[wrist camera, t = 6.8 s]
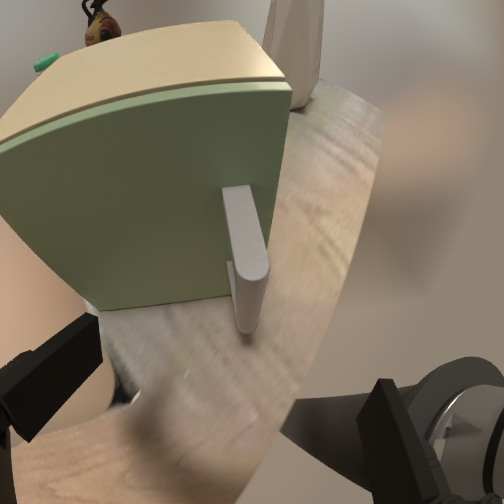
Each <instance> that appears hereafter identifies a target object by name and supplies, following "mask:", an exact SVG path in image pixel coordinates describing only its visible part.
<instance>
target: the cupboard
mask: <svg viewBox="0 0 504 504" xmlns="http://www.w3.org/2000/svg"><path fill="white" fill-rule="evenodd" d="M244 82H285V76H284V74H283V73H282V72H281V71H280V69H279V68H278V67H277V66H276V64H275V63H274V62H273V61H272V60H271V58H270V57H269V56H268V55H267V54H266V52H265V51H264V50H263V49H262V48H261V47H260V46H259V45H258V43H257V42H256V41H255V40H254V39H253V38H252V37H251V35H250V34H249V33H248V32H247V31H246V30H245V29H244V28H243V27H242V26H241V25H240V24H239V23H238V22H237V21H236V20H235V21H234V20H232V21H212V22H202V23H201V22H200V23H191V24H183V25H175V26H169V27H163V28H157V29H152V30H147V31H142V32H138V33H134V34H130V35H126V36H122V37H118V38H114V39H111V40H107V41H104V42H101V43H98V44H95V45H92V46H89V47H86V48H83V49H80V50H77V51H75V52H72V53H70V54H67V55H65V56H63V57H60V58H58V59H57V60H56V61H55V62H54V63H53V64H52V65H51V66H50V67H48V68H47V69H46V70H45V71H44V72H43V73H42V74H41V75H40V76H39V77H38V78H37V79H36V80H35V81H34V82H33V83H32V84H31V85H30V86H29V87H28V88H27V89H26V90H25V91H24V92H23V94H22V95H21V96H20V97H19V98H18V99H17V100H16V101H15V103H14V104H13V105H12V106H11V107H10V108H9V110H8V111H7V112H6V113H5V114H4V116H3V117H2V118H1V119H0V145H2V144H4V143H6V142H8V141H10V140H12V139H14V138H16V137H18V136H20V135H22V134H25V133H27V132H29V131H31V130H34V129H36V128H38V127H41V126H43V125H46V124H48V123H51V122H53V121H56V120H58V119H61V118H64V117H67V116H70V115H72V114H75V113H78V112H81V111H84V110H88V109H91V108H94V107H98V106H101V105H105V104H108V103H112V102H116V101H120V100H124V99H128V98H132V97H137V96H141V95H146V94H151V93H157V92H162V91H168V90H174V89H181V88H188V87H196V86H205V85H215V84H227V83H244Z"/></svg>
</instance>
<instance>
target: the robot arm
mask: <svg viewBox="0 0 504 504" xmlns="http://www.w3.org/2000/svg"><path fill="white" fill-rule="evenodd" d="M102 362H103V357H102V351H101V342H100V333H99V323H98V317H97V316H94V315H92V314H89V313H87V312H86V313H84V314H83V315H82V316H80V317H79V318H77V319H76V320H75V321H73V322H72V323H71V324H69V325H68V326H66V327H65V328H64V329H62V330H61V331H60V332H58V333H57V334H56V335H54V336H53V337H51V338H50V339H49V340H47V341H46V342H45V343H44V344H42V345H41V346H40V347H38V348H37V349H36V350H34V351H31V350H29V351H26V352H23V353H20V354H19V355H18V356H17V357H15V358H14V359H13V361H10V362H9V363H7V365H5V366H4V367H2V368H1V369H0V504H17V500H16V495H15V488H14V481H13V473H12V462H11V445H10V444H11V443H10V430H9V426H10V425H12V426H13V428H14V430H15V431H16V433H17V434H18V435H19V436H21V437H22V438H23V439H24V440H25V441H27V442H28V443H30V442H31V440H32V439H33V438H34V437H35V436H36V435H37V433H38V432H39V431H40V430H41V429H42V428H43V427H44V425H45V424H46V423H47V422H48V421H49V420H50V419H51V418H52V416H53V415H54V414H55V413H56V412H57V411H58V410H59V409H60V407H61V406H62V405H63V404H64V403H65V402H66V401H67V400H68V399H69V398H70V397H71V395H72V394H73V393H74V392H75V391H76V390H77V389H78V388H79V387H80V386H81V385H82V383H83V382H84V381H85V380H86V379H87V378H88V377H89V376H90V375H91V374H92V373H93V372H94V371H95V370H96V368H98V366H99V365H100V364H101V363H102ZM356 421H357V425H358V429H359V433H360V438H361V442H362V447H363V451H364V456H365V460H366V465H367V470H368V475H369V480H370V486H371V491H372V496H373V502H374V504H502V499H504V388H502V387H497V386H491V385H476V386H472V387H468V388H465V389H462V390H460V391H459V392H457V393H456V394H454V395H453V396H452V397H451V398H449V399H448V400H447V401H446V402H445V403H444V405H443V406H442V407H441V408H440V410H439V411H438V412H437V414H436V415H435V417H434V419H433V420H432V422H431V424H430V426H429V428H428V430H427V432H426V434H425V437H424V439H423V440H421V441H420V440H419V437H418V435H417V432H416V430H415V428H414V425H413V423H412V421H411V418H410V416H409V414H408V412H407V409H406V407H405V405H404V403H403V400H402V398H401V396H400V394H399V392H398V390H397V387H396V385H395V383H394V381H393V379H382V378H381V379H378V381H377V382H376V384H375V386H374V388H373V390H372V392H371V394H370V395H369V397H368V399H367V401H366V402H365V404H364V406H363V408H362V409H361V411H360V413H359V414H358V416H357V418H356Z"/></svg>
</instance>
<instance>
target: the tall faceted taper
mask: <svg viewBox="0 0 504 504" xmlns="http://www.w3.org/2000/svg"><path fill="white" fill-rule="evenodd" d="M323 17H324V0H271V5H270V10H269V14H268V19H267V24H266V29H265V34H264V39H263V44H262V49H263V50H264V51H265V52H266V54H267V55H268V56H269V57H270V58H271V60H272V61H273V62H274V63H275V64H276V66H277V67H278V68H279V69H280V71H281V72H282V73H283V74H284V76H285V82H287V83H288V84H289V86H290V87H291V88H292V90H293V93H292V100H291V106H290V110H291V109H296V108H300V107H304V106H305V104H306V102H307V100H308V98H309V96H310V95H311V93H312V91H313V89H314V87H315V86H316V84H317V81H318V77H319V68H320V56H321V45H322V31H323Z"/></svg>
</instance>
